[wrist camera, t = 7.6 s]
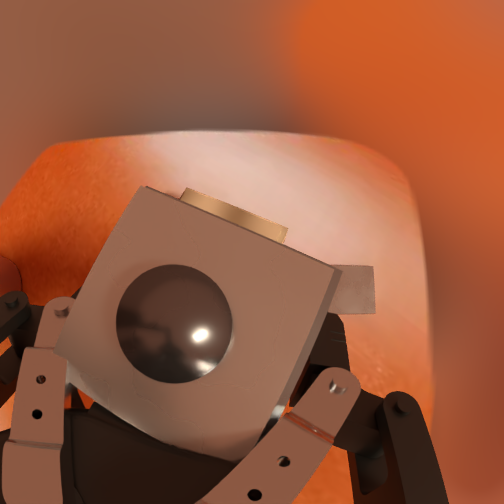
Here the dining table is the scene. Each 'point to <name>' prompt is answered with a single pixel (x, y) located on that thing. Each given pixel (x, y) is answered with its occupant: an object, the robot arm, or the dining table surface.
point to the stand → (235, 215)
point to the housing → (195, 326)
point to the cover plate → (354, 291)
